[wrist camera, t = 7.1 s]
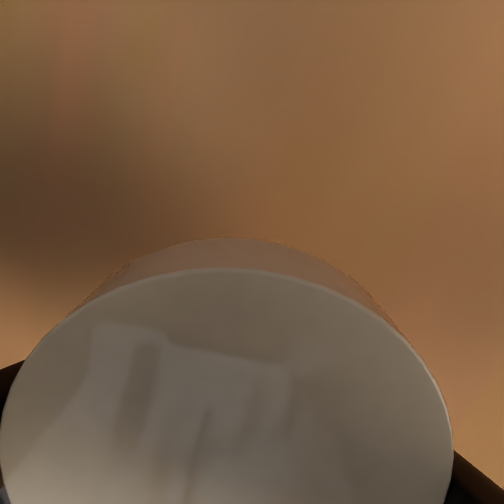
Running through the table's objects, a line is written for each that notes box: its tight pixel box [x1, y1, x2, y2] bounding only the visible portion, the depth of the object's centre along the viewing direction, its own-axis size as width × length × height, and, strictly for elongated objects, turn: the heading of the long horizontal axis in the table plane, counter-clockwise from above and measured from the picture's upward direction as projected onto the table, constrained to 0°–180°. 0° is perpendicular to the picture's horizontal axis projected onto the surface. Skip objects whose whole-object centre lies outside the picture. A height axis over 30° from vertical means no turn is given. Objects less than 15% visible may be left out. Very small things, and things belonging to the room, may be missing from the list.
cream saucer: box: [0, 237, 454, 504], centre depth 7 cm, size 7×7×2 cm
